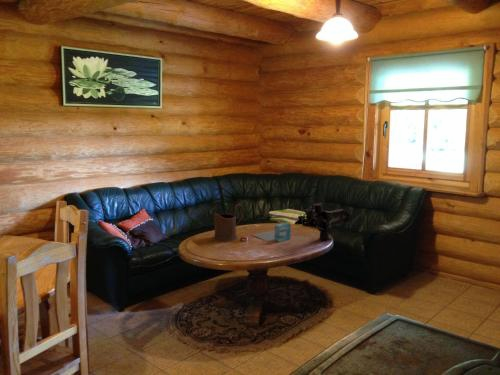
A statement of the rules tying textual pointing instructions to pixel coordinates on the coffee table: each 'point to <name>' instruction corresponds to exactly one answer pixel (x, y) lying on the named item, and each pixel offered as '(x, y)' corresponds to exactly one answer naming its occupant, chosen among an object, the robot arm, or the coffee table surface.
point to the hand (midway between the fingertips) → (298, 224)
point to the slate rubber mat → (266, 235)
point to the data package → (282, 232)
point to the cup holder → (226, 226)
